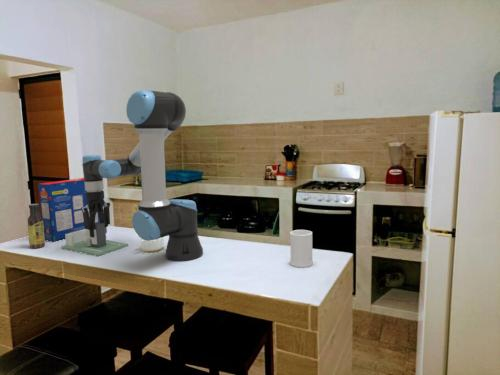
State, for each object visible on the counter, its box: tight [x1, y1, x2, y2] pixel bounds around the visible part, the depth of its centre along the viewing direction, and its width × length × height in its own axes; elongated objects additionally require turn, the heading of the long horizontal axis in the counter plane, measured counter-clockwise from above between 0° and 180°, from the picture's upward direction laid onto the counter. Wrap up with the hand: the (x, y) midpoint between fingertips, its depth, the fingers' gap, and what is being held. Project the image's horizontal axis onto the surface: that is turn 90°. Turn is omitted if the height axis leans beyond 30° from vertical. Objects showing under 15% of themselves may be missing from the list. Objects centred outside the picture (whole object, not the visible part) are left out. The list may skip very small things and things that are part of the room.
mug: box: [289, 229, 314, 268], centre depth 140 cm, size 12×8×12 cm
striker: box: [86, 222, 107, 247], centre depth 167 cm, size 7×6×10 cm
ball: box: [83, 235, 91, 244], centre depth 170 cm, size 4×4×4 cm
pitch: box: [60, 229, 129, 257], centre depth 168 cm, size 25×16×6 cm, turn 60°
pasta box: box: [37, 177, 100, 243], centre depth 191 cm, size 28×8×28 cm, turn 148°
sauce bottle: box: [27, 203, 46, 249], centre depth 170 cm, size 7×6×20 cm
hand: (99, 242), depth 166 cm, fingers closed on striker, 4 cm apart
